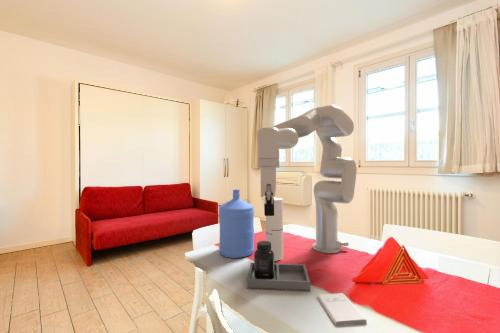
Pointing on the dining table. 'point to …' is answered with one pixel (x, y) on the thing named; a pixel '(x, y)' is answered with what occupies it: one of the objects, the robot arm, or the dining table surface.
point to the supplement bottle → (264, 261)
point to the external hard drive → (341, 309)
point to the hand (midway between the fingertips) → (269, 212)
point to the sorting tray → (281, 278)
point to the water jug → (236, 228)
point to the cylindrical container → (276, 229)
